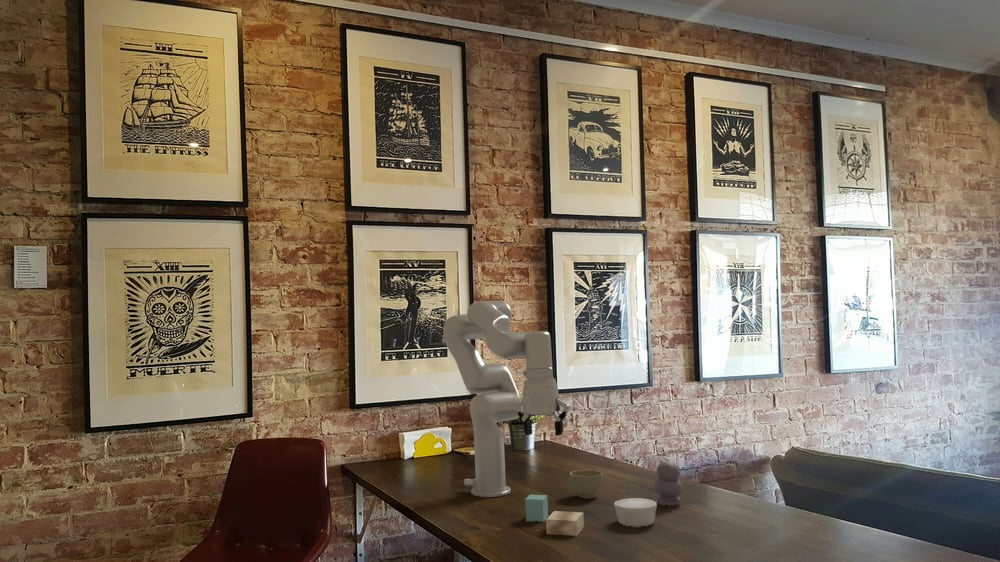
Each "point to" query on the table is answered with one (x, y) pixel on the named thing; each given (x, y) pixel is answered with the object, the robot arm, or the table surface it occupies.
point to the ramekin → (635, 511)
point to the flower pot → (586, 482)
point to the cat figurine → (668, 483)
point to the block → (536, 508)
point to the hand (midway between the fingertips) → (543, 434)
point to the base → (565, 523)
